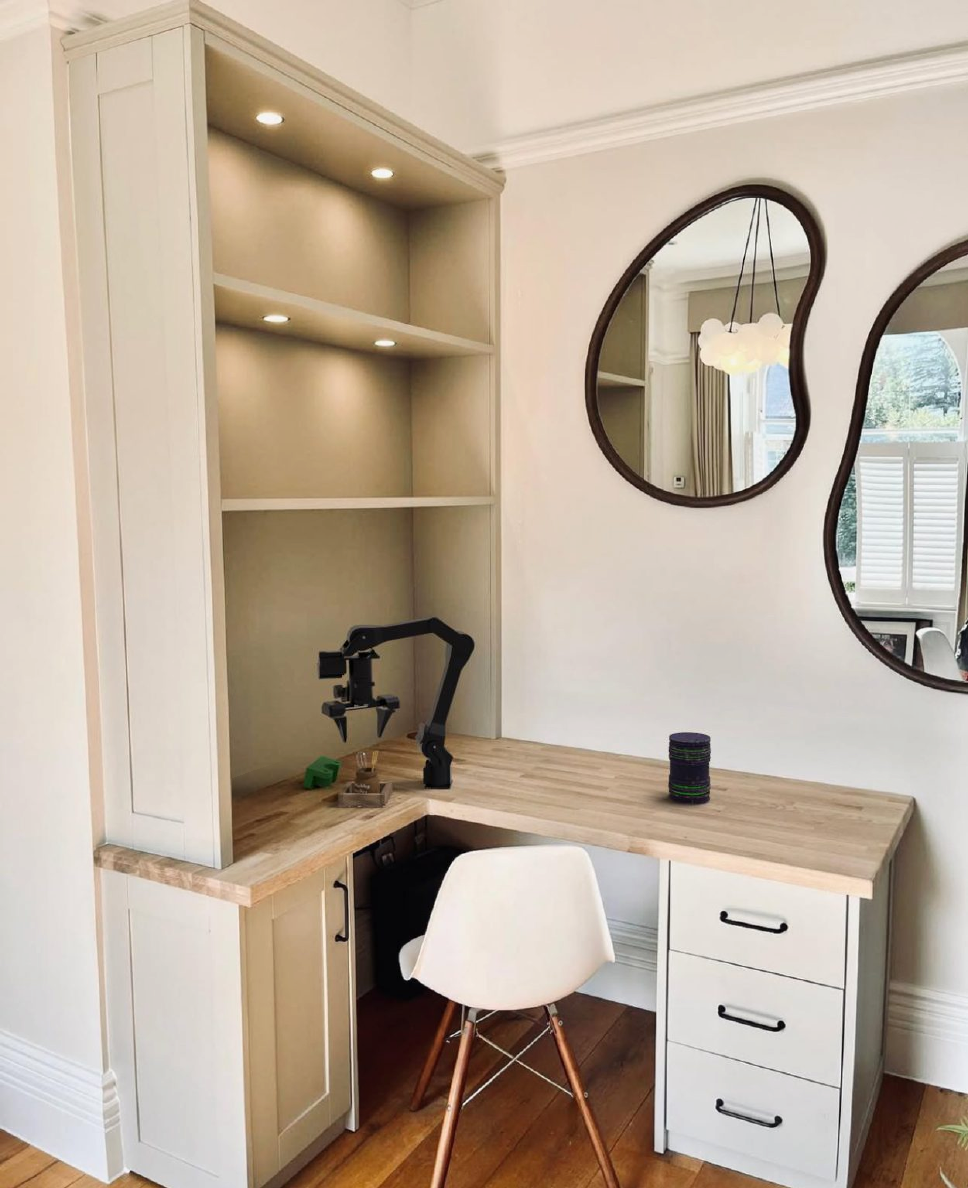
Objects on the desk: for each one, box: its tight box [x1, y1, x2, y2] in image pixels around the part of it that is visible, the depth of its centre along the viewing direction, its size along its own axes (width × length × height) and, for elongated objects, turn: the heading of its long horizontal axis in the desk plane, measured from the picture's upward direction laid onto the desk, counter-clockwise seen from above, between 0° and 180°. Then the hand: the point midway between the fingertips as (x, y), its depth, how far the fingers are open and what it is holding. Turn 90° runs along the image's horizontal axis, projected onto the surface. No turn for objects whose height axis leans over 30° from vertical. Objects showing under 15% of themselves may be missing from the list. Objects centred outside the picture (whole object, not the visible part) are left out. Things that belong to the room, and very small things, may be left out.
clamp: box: [302, 755, 343, 790], centre depth 254 cm, size 12×6×9 cm, turn 164°
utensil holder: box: [354, 750, 380, 793], centre depth 239 cm, size 6×6×12 cm
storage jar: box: [667, 731, 712, 806], centre depth 238 cm, size 10×10×15 cm
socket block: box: [337, 781, 393, 808], centre depth 240 cm, size 11×11×4 cm
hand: (362, 739), depth 246 cm, fingers open, 9 cm apart
